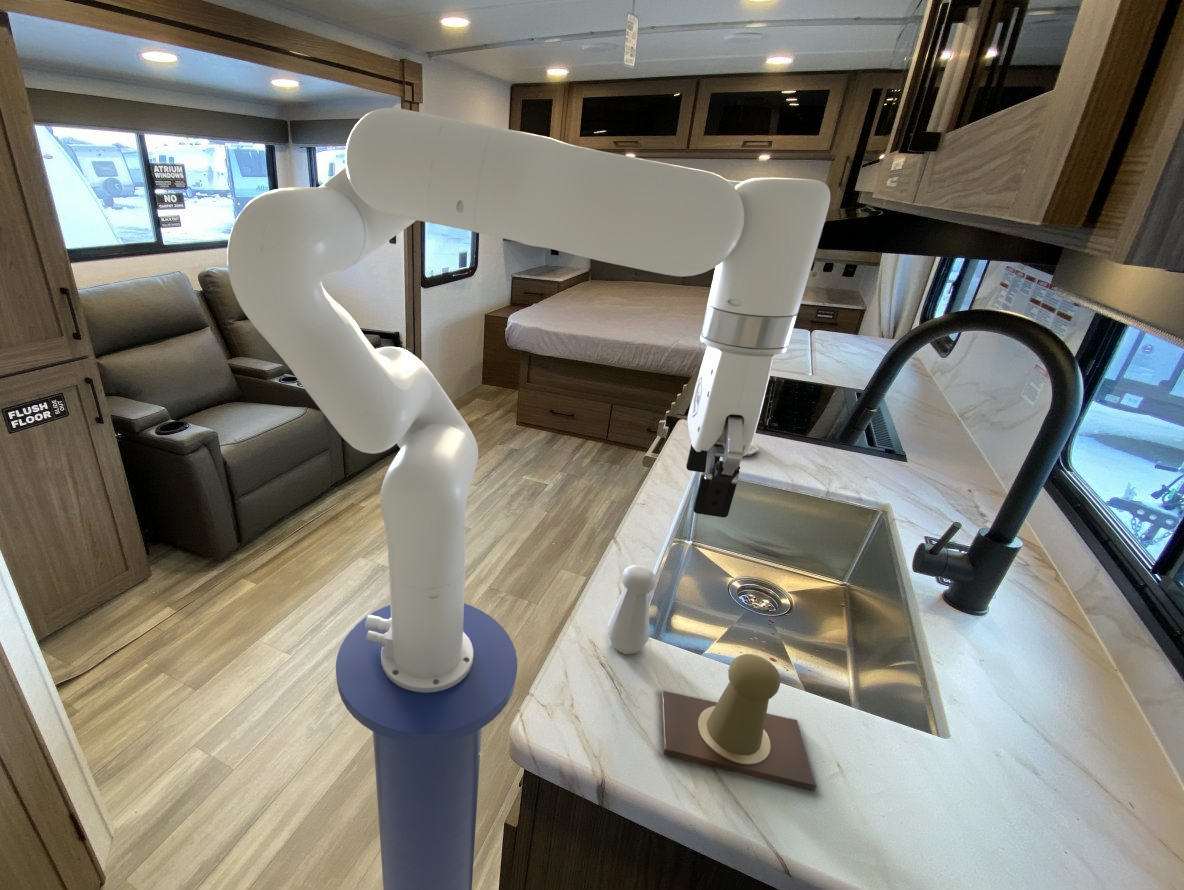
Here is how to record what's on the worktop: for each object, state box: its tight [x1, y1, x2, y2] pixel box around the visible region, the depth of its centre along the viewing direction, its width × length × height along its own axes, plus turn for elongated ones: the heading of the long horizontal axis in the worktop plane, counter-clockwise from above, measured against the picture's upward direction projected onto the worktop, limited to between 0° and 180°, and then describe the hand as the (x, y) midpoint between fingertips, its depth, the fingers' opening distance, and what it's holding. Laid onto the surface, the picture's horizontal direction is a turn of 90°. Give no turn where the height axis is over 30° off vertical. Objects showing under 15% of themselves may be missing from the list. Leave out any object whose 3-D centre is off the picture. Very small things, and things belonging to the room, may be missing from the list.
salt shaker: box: [606, 564, 657, 655], centre depth 79 cm, size 6×6×13 cm
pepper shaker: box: [707, 653, 781, 755], centre depth 66 cm, size 6×6×11 cm
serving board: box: [660, 690, 818, 792], centre depth 68 cm, size 16×9×1 cm, turn 75°
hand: (704, 491), depth 61 cm, fingers open, 9 cm apart
